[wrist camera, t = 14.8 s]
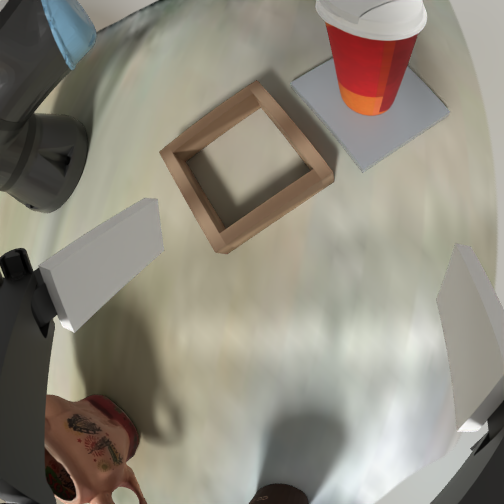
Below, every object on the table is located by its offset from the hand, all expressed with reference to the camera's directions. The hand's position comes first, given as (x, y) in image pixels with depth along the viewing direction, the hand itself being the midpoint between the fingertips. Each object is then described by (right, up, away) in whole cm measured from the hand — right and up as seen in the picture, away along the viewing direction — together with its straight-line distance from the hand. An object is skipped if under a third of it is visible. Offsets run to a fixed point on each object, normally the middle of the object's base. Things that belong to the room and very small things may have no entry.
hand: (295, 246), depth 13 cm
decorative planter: (-19, -24, +21) cm, 37 cm away
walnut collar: (-2, +8, +18) cm, 20 cm away
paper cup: (+10, +16, +14) cm, 23 cm away
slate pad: (+10, +15, +15) cm, 24 cm away
